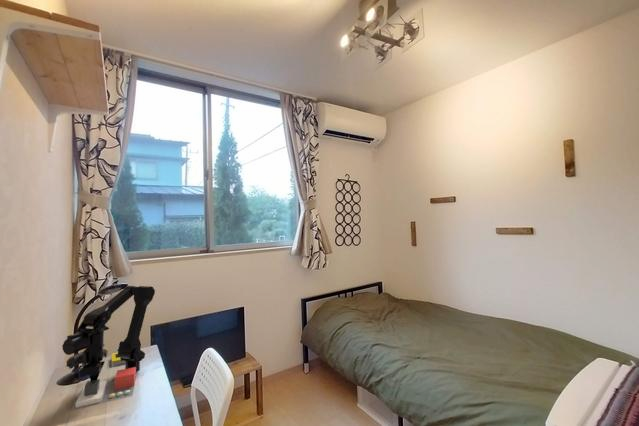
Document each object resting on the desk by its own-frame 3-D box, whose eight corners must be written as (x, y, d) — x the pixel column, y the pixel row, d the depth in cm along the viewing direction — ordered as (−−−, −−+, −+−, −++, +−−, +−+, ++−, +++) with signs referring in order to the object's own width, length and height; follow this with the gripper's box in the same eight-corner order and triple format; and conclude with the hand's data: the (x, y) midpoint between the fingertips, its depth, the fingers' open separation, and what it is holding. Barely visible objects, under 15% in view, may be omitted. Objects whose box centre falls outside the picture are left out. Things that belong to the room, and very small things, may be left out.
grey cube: (86, 390, 117) (87, 381, 117) (99, 388, 119) (99, 379, 119) (84, 395, 113) (84, 386, 113) (97, 393, 115) (97, 383, 115)
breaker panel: (82, 390, 122) (82, 383, 123) (136, 379, 131) (136, 372, 131) (70, 413, 107) (70, 405, 107) (132, 398, 116) (132, 391, 116)
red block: (116, 382, 127) (117, 370, 127) (135, 378, 130) (135, 366, 130) (114, 389, 121) (114, 377, 121) (134, 385, 124) (134, 373, 124)
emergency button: (132, 345, 158) (134, 355, 146) (132, 354, 158) (134, 364, 146) (111, 350, 153) (111, 360, 141) (111, 358, 153) (111, 370, 141)
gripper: (75, 340, 124) (74, 378, 123) (61, 357, 108) (60, 401, 107) (108, 335, 129) (107, 372, 129) (99, 351, 113) (98, 393, 112)
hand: (93, 383), depth 119 cm, fingers closed
